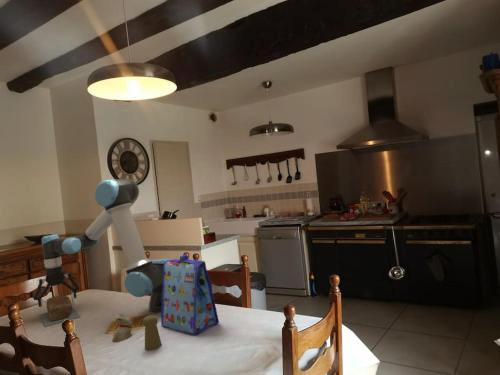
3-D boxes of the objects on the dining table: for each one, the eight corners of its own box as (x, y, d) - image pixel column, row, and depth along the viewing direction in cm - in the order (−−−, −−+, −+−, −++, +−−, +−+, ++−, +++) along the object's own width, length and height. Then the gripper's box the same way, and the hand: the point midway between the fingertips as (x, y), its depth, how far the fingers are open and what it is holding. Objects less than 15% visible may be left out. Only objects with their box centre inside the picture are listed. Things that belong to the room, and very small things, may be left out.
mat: (80, 317, 176) (80, 316, 176) (44, 327, 167) (44, 326, 167) (72, 306, 196) (72, 305, 196) (40, 314, 187) (40, 313, 187)
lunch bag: (220, 323, 147) (211, 252, 147) (194, 336, 137) (185, 260, 136) (185, 315, 161) (177, 250, 161) (159, 327, 151) (151, 257, 151)
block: (46, 312, 188) (50, 323, 171) (45, 297, 188) (48, 307, 171) (69, 306, 194) (75, 317, 177) (68, 292, 194) (74, 301, 177)
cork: (146, 352, 128) (142, 321, 128) (143, 346, 134) (139, 316, 133) (163, 346, 131) (160, 316, 131) (159, 341, 136) (156, 312, 136)
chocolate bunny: (133, 337, 143) (130, 312, 142) (112, 343, 140) (109, 317, 140) (133, 332, 148) (130, 308, 148) (112, 337, 145) (109, 312, 145)
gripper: (79, 260, 191) (84, 300, 191) (23, 271, 177) (29, 314, 177) (82, 261, 185) (87, 303, 185) (24, 273, 171) (30, 318, 171)
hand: (58, 308), depth 181 cm, fingers open, 13 cm apart
